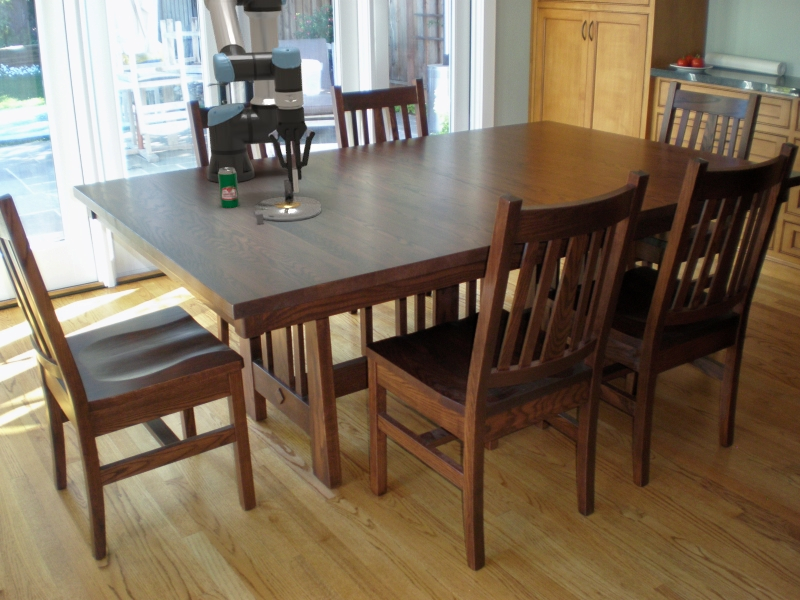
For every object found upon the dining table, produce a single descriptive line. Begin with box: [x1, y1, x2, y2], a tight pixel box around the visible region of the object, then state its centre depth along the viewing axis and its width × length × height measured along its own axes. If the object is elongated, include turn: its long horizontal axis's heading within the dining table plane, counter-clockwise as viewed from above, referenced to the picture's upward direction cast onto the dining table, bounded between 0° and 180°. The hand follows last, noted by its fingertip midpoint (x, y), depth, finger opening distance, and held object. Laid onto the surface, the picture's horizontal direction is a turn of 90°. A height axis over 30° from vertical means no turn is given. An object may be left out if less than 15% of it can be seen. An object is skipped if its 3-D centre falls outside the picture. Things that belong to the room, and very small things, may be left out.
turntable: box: [254, 179, 322, 222], centre depth 225 cm, size 18×18×7 cm
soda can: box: [218, 167, 240, 209], centre depth 231 cm, size 5×5×12 cm
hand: (295, 191), depth 233 cm, fingers closed
